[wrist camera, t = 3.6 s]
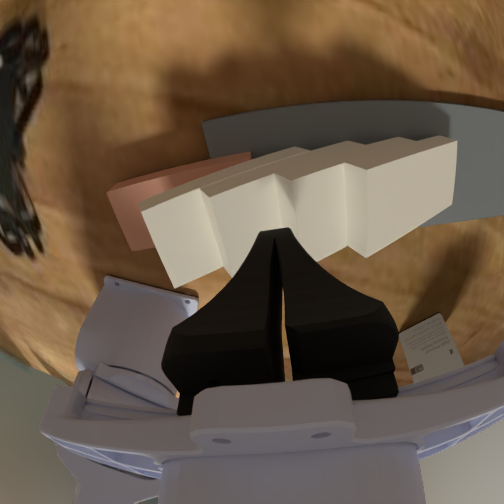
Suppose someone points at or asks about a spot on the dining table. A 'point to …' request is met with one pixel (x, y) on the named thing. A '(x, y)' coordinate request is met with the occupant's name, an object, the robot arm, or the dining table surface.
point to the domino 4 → (397, 191)
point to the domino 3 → (321, 198)
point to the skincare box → (430, 349)
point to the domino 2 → (251, 205)
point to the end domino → (146, 186)
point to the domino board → (378, 129)
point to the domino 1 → (192, 222)
